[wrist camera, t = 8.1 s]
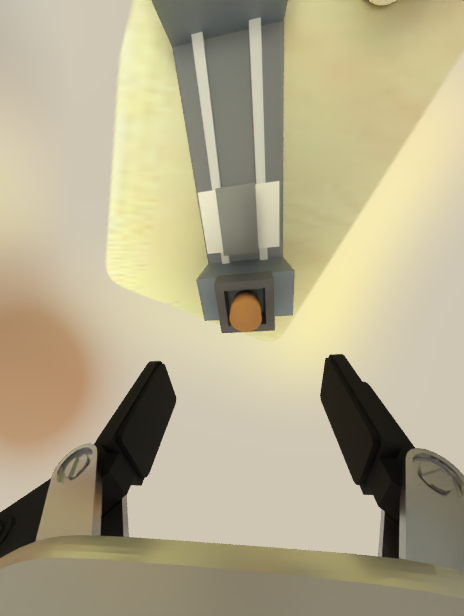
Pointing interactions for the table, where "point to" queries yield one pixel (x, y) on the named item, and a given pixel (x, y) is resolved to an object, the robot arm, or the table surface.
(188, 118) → the rail track
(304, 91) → the table surface
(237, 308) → the button
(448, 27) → the table surface
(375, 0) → the drinking glass
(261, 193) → the carriage
